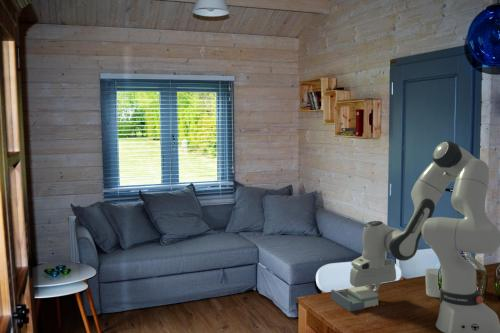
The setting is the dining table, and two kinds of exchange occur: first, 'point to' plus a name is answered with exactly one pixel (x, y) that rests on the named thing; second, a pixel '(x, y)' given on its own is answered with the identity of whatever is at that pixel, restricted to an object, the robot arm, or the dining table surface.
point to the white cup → (432, 283)
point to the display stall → (346, 301)
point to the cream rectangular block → (363, 296)
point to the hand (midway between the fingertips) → (373, 294)
